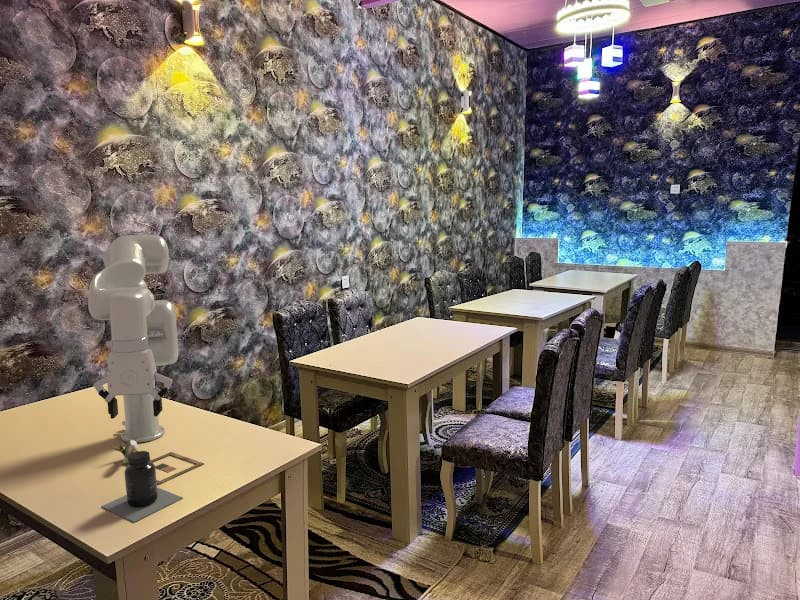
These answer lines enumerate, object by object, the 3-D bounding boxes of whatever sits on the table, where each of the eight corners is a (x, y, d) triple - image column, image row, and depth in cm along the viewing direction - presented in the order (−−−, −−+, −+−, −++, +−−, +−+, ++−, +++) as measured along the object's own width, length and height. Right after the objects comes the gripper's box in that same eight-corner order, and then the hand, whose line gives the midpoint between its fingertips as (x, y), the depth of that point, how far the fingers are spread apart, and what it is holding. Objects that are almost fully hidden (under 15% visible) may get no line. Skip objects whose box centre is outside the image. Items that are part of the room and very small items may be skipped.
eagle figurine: (105, 460, 161) (120, 462, 156) (115, 435, 164) (130, 436, 158) (131, 467, 166) (146, 469, 161) (140, 442, 169) (155, 443, 163)
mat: (101, 507, 139) (101, 506, 138) (150, 485, 149) (150, 484, 149) (134, 522, 132) (134, 521, 132) (182, 498, 143) (182, 497, 143)
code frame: (125, 471, 157) (125, 470, 157) (171, 452, 169) (170, 451, 169) (158, 485, 150) (158, 483, 150) (204, 464, 162) (203, 463, 162)
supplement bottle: (149, 491, 145) (146, 446, 144) (163, 500, 141) (160, 453, 139) (121, 502, 140) (118, 455, 138) (135, 511, 136) (131, 463, 134)
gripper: (84, 350, 130) (91, 423, 132) (165, 347, 132) (170, 419, 135) (97, 342, 137) (103, 411, 140) (173, 340, 139) (177, 408, 142)
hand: (136, 415), depth 137 cm, fingers open, 9 cm apart
